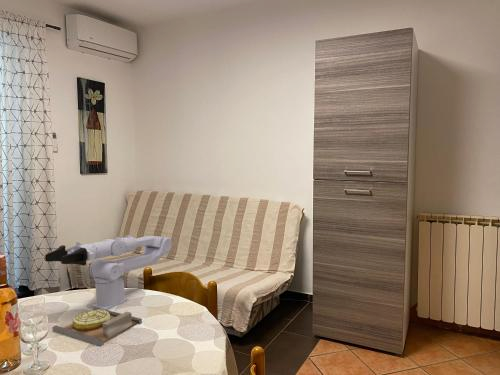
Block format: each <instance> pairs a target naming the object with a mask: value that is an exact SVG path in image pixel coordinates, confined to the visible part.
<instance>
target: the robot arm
mask: <svg viewBox="0 0 500 375" xmlns="http://www.w3.org/2000/svg"><path fill="white" fill-rule="evenodd" d="M172 246H173V242H172V239H171V237H169V236H156V235H145V236H142V237H136V238H135V237H133V236H131V235H129V234H126V235H124V237H118V236H117V237H115V238H114V239H112V238H111V239H110V238H108V239H107V238H104V239H103V240H102V241H96V242H90V243H86V244H85V243H84V244H83V243H82V242H81V241H77V242H75V245H74V246H71V247H68V248H66V245H63V244H62V245H60V246H59V247H57V248H56V249H55V250H53V251H50V252H47V253H46V254H45V255H44V257H45V258H44V261H45V262H49V263H50V262H60V264H61V265H79V266H86V265H87V262H89V261H93V262H92V263H91V265H90V267H89V275H90V276H91V277H92V278H93V281H94V284H95V286H94V287H95V298H96V302H94V303H91V305H90V306H91V307H92V308H96V307H97V308H101V309H105V310H109V309H112V308H113V307H116V306H119V305H120V304H122V303H124V302H127V298H126V294H125V293H126V292H125V281H124V279H123V278H122V277H123V276H124V274H125V273H127V272H131V271H134V270H138V269H141V268H145V267H148V266H152V265H155V264H156V263H157V262H158V261H159V260H160V259H161V258H162V257H164V256H166V255H168V254H169V253H170V251H171V249H172ZM140 247H144V249H143V253H140V254H136V255H132V256H128V257H125V258H121V259H116V260H100V259H102V258H103V259H104V258H107V257H111V256H112V257H121V256H122V255H123V254H125V253H130V252H134V251H135V250H136V249H137V248H140Z"/></svg>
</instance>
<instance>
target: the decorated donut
mask: <svg viewBox="0 0 500 375" xmlns="http://www.w3.org/2000/svg"><path fill="white" fill-rule="evenodd" d="M109 320H110V314H109V312H107V311H105V310H102V309H99V310H93V309H90V310H87V311H84V312H81V313H78V314H77V315H75V316H74V317H73V318H72V322H71V324H73V326H74V327H75V328H76V329H77V330H81V331H87V330H93V329H97V328H100V327H102V326H103V323H105V322H107V321H109Z"/></svg>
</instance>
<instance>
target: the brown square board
mask: <svg viewBox="0 0 500 375" xmlns="http://www.w3.org/2000/svg"><path fill="white" fill-rule="evenodd" d="M131 316H132V312H130V311H125V312H122V313H121V315H119V316H117V317H114V316H110V320H109V321H107V322H105V323H103V326H102V327H100V328H97V329H93V330H87V331H81V330H77V329H76V328H75V327H74V326H73V323H71V324H69V325H66V326H63V328H66V329H69V330H73V331H76V332H79V333H82V334H85V335H89V336H92V337H95V338H98V339H102V340H104V344H105V343H106V342H108V341H110V340H113V338H115V337H117V336H118V335H120V334H123V333H125V331H127V330H129V329H131V328H133V327H135V326H137V325H138V324H137V322H133V321H132V317H133V316H132V317H131Z"/></svg>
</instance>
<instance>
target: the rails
mask: <svg viewBox="0 0 500 375" xmlns="http://www.w3.org/2000/svg"><path fill="white" fill-rule="evenodd" d="M99 309H101V308H97V307H93V309H92V310H99ZM102 310H105V309H102ZM105 311H107V312H109V314H110V316H114V317H117V316H119V315H121V314H122V313H121V312H120V313H119V312H116V311H112V310H109V309H107V310H105ZM131 317H132V321H133V322H137V325H142V323H143V319H142V318H140V317H136V316H133V315H131ZM51 328H52V332H54V333H57V334H60V335H63V336H66V337H69V338H73V339H75V340H79V341H81V342H85V343H87V344H90V345H95V346H97V347H102V346H104V345H105V343H104V340H102V339H98V338H95V337H92V336H89V335H85V334H82V333H79V332H76V331H73V330H69V329H66V328H64V326H63V327H62V326H59V325H53V326H52V327H51Z"/></svg>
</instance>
